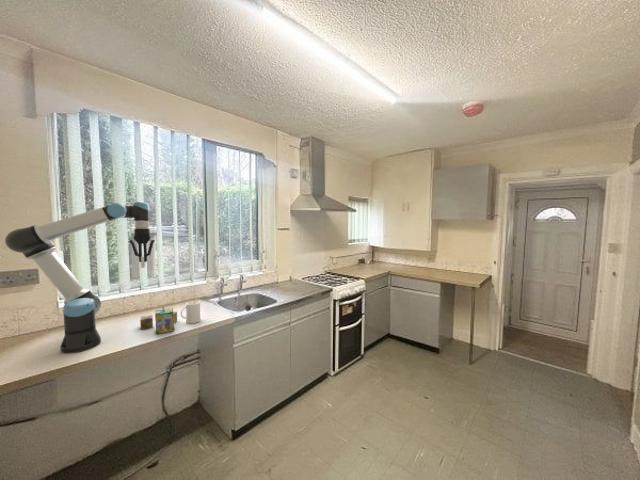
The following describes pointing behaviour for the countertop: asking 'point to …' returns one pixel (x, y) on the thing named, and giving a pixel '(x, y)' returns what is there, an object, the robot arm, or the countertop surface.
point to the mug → (192, 312)
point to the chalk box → (164, 320)
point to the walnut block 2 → (175, 316)
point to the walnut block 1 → (146, 322)
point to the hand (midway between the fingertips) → (143, 267)
